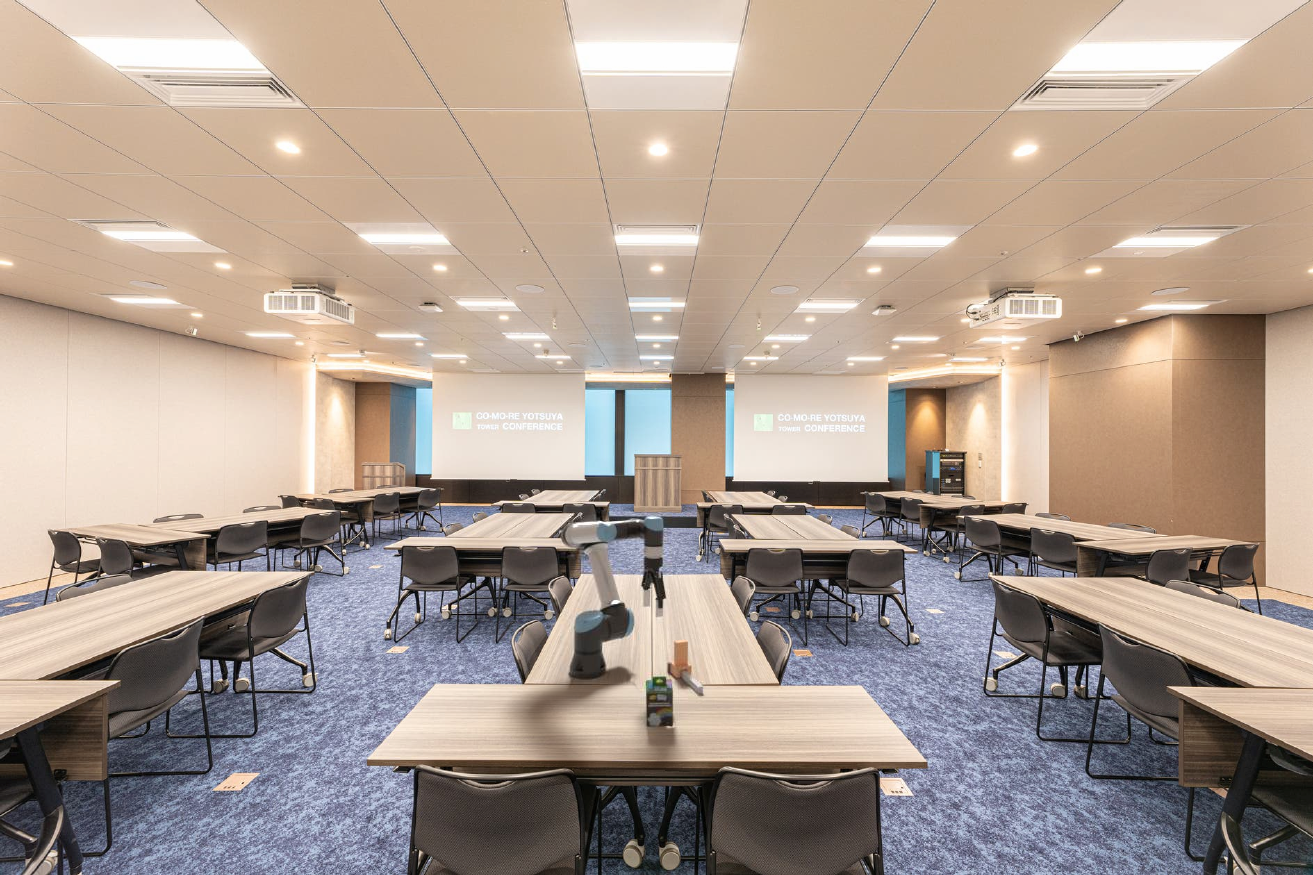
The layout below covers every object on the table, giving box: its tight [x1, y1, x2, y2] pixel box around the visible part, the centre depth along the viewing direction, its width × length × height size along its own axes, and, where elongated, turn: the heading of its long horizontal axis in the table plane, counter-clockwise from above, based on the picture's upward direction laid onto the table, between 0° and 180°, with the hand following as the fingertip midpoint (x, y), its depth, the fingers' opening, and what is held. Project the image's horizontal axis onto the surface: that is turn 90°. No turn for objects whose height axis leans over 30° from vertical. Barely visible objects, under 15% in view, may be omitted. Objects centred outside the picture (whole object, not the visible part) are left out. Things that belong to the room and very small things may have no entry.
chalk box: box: [645, 676, 674, 727], centre depth 167 cm, size 9×9×15 cm
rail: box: [666, 661, 704, 695], centre depth 194 cm, size 25×12×4 cm, turn 22°
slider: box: [669, 639, 692, 679], centre depth 200 cm, size 6×7×13 cm
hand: (652, 611), depth 193 cm, fingers open, 13 cm apart
